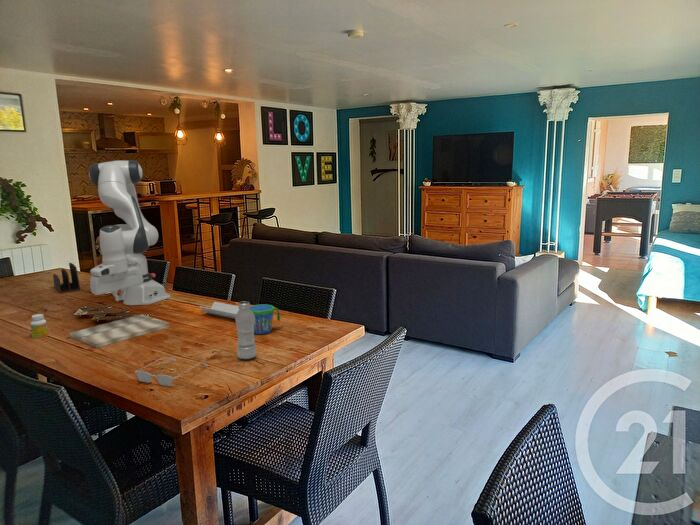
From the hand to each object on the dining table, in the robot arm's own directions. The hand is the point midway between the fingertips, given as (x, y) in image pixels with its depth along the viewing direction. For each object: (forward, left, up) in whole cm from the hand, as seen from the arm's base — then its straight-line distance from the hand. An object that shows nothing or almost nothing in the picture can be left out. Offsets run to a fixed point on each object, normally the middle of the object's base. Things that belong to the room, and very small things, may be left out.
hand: (120, 300), depth 199 cm
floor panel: (+2, +2, -14) cm, 14 cm away
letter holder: (-19, -100, -14) cm, 103 cm away
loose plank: (+2, +7, -12) cm, 14 cm away
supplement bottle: (+24, -19, -14) cm, 34 cm away
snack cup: (-33, +47, -14) cm, 59 cm away
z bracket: (-40, +18, -14) cm, 46 cm away
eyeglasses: (+11, +54, -14) cm, 57 cm away
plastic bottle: (-11, +64, -14) cm, 66 cm away
